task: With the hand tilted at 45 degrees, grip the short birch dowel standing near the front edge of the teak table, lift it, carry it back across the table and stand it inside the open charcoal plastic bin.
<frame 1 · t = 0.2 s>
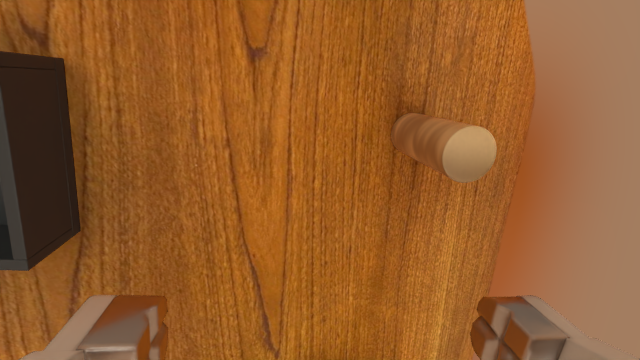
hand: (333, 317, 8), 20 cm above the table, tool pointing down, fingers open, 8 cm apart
dowel: (410, 133, 28), on the table
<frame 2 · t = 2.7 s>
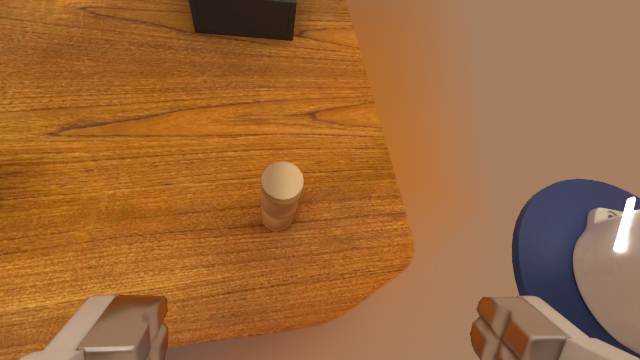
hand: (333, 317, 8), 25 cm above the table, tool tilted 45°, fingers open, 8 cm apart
dowel: (277, 215, 35), on the table
bin: (246, 5, 49), on the table
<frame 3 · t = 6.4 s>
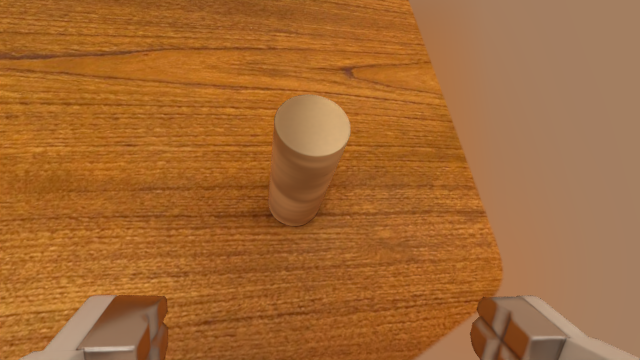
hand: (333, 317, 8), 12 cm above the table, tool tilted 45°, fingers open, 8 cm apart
dowel: (293, 202, 23), on the table
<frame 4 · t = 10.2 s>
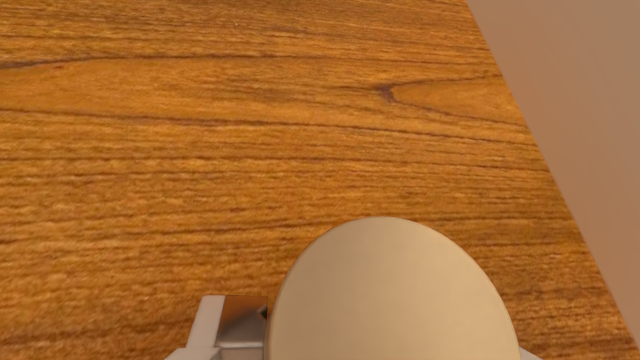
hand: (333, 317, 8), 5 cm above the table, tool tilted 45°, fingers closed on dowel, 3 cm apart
dowel: (307, 347, 12), on the table, touching gripper
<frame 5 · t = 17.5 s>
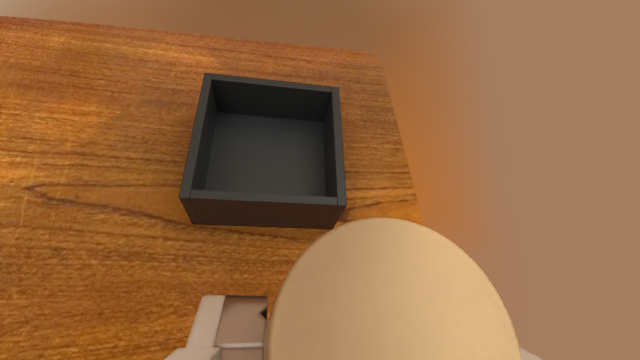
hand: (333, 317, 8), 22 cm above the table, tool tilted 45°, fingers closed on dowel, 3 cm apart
dowel: (308, 348, 12), point 17 cm above the table, touching gripper
bin: (268, 167, 35), on the table
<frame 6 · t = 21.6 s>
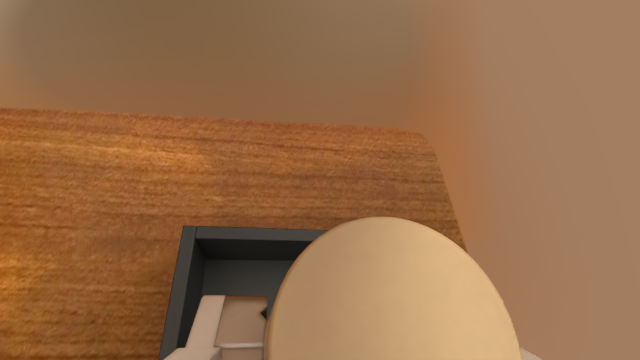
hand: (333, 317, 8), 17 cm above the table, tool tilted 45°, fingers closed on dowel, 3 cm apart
dowel: (308, 348, 12), point 12 cm above the table, touching gripper
bin: (285, 350, 22), on the table
when the fingers open (6 cm above the table, at t = 24.9 s): dowel stays where it is, resting on bin.
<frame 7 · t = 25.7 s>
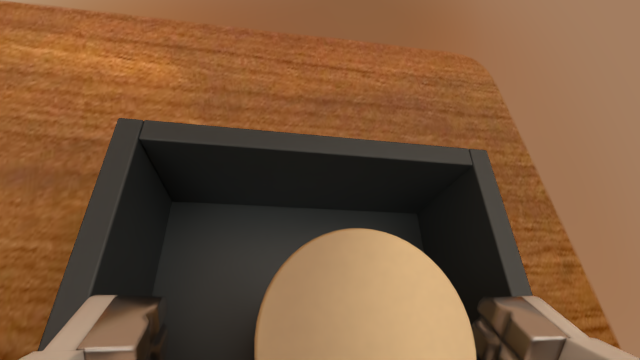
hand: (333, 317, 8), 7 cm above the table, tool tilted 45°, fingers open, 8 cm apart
dowel: (300, 346, 13), point 1 cm above the table, touching bin
bin: (298, 346, 14), on the table
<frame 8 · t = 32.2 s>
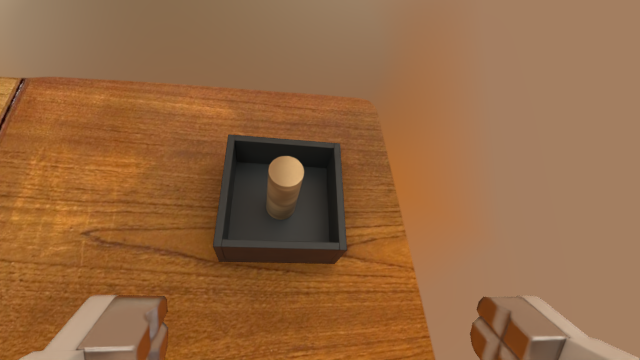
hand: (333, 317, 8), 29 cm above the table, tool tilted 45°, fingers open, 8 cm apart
dowel: (280, 206, 40), point 1 cm above the table, touching bin
bin: (280, 209, 41), on the table
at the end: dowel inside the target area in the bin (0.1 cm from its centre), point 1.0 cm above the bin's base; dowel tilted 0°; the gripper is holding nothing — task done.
